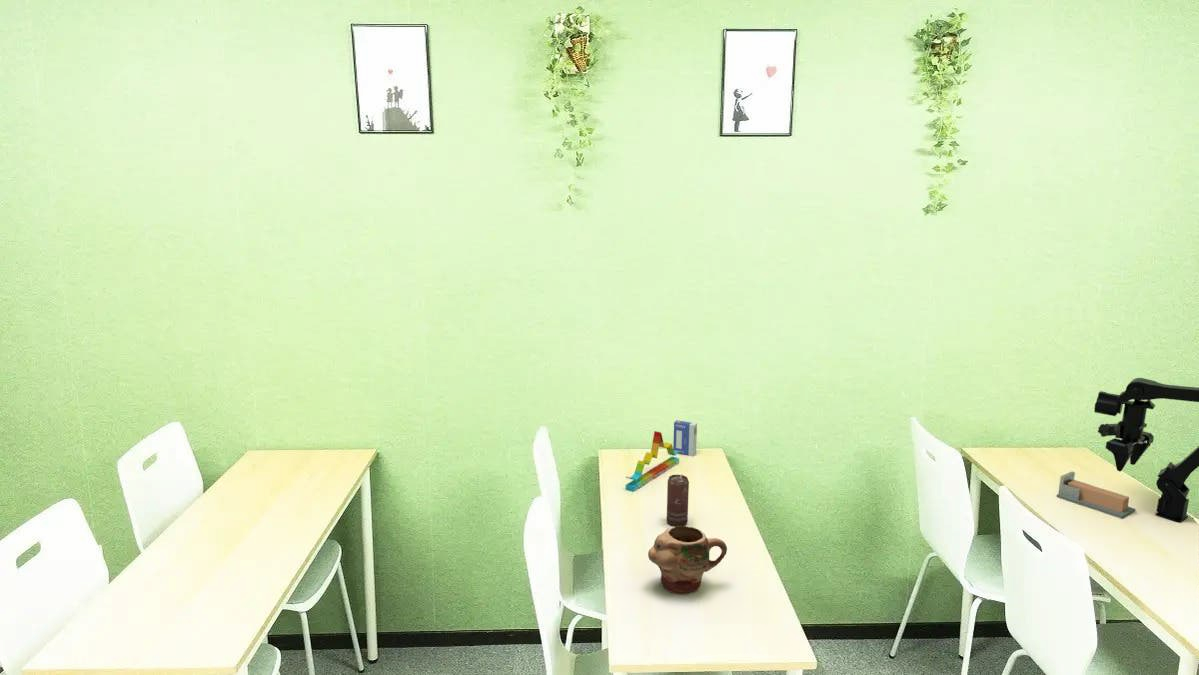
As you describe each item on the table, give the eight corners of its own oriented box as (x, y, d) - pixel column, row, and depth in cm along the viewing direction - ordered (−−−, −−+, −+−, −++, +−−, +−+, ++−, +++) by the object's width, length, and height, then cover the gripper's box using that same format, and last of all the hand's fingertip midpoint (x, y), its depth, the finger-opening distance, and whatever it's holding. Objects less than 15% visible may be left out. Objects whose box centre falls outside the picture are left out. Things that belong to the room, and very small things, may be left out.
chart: (634, 492, 260) (634, 448, 256) (625, 490, 261) (626, 446, 258) (679, 463, 284) (680, 422, 281) (671, 461, 286) (672, 421, 283)
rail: (1127, 509, 247) (1129, 496, 246) (1121, 512, 245) (1123, 500, 244) (1072, 491, 260) (1074, 479, 259) (1066, 494, 258) (1068, 482, 257)
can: (689, 519, 241) (690, 474, 237) (685, 528, 235) (687, 483, 231) (668, 516, 242) (670, 472, 239) (664, 525, 236) (666, 480, 233)
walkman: (673, 453, 293) (673, 421, 291) (675, 450, 296) (676, 419, 293) (693, 456, 290) (694, 424, 287) (696, 454, 292) (697, 422, 290)
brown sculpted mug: (715, 567, 212) (717, 518, 209) (733, 591, 201) (735, 540, 198) (641, 576, 208) (642, 526, 205) (656, 601, 196) (657, 549, 193)
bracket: (1088, 495, 257) (1091, 477, 256) (1078, 500, 253) (1080, 482, 252) (1069, 488, 262) (1071, 471, 261) (1058, 493, 258) (1060, 476, 257)
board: (1135, 511, 248) (1135, 508, 248) (1121, 518, 243) (1122, 516, 243) (1070, 490, 263) (1070, 488, 263) (1056, 496, 258) (1056, 494, 258)
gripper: (1118, 407, 258) (1111, 453, 262) (1091, 418, 248) (1083, 466, 251) (1158, 416, 250) (1150, 464, 253) (1131, 428, 239) (1123, 477, 243)
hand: (1125, 467), depth 250 cm, fingers open, 9 cm apart
